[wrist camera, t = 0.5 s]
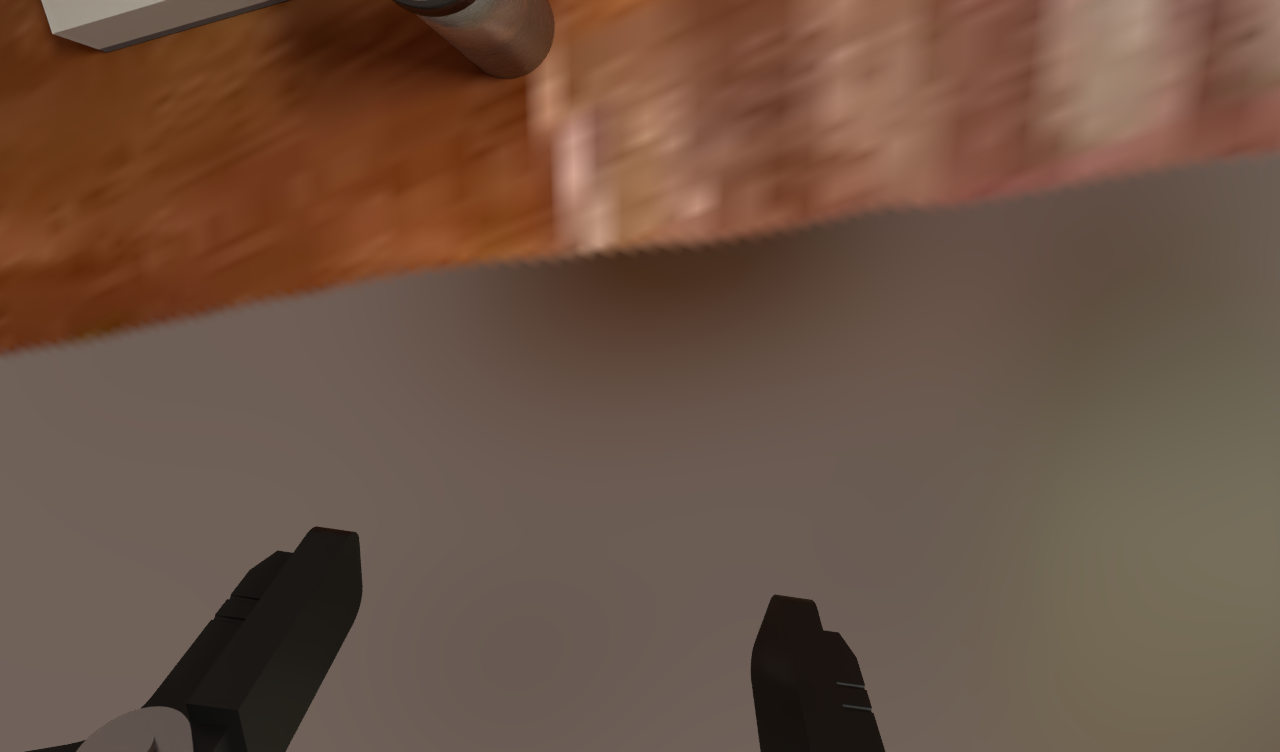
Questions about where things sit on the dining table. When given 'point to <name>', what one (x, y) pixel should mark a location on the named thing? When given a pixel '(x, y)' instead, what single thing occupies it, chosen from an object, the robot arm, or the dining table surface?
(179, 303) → the dining table surface
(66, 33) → the block
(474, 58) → the canister
